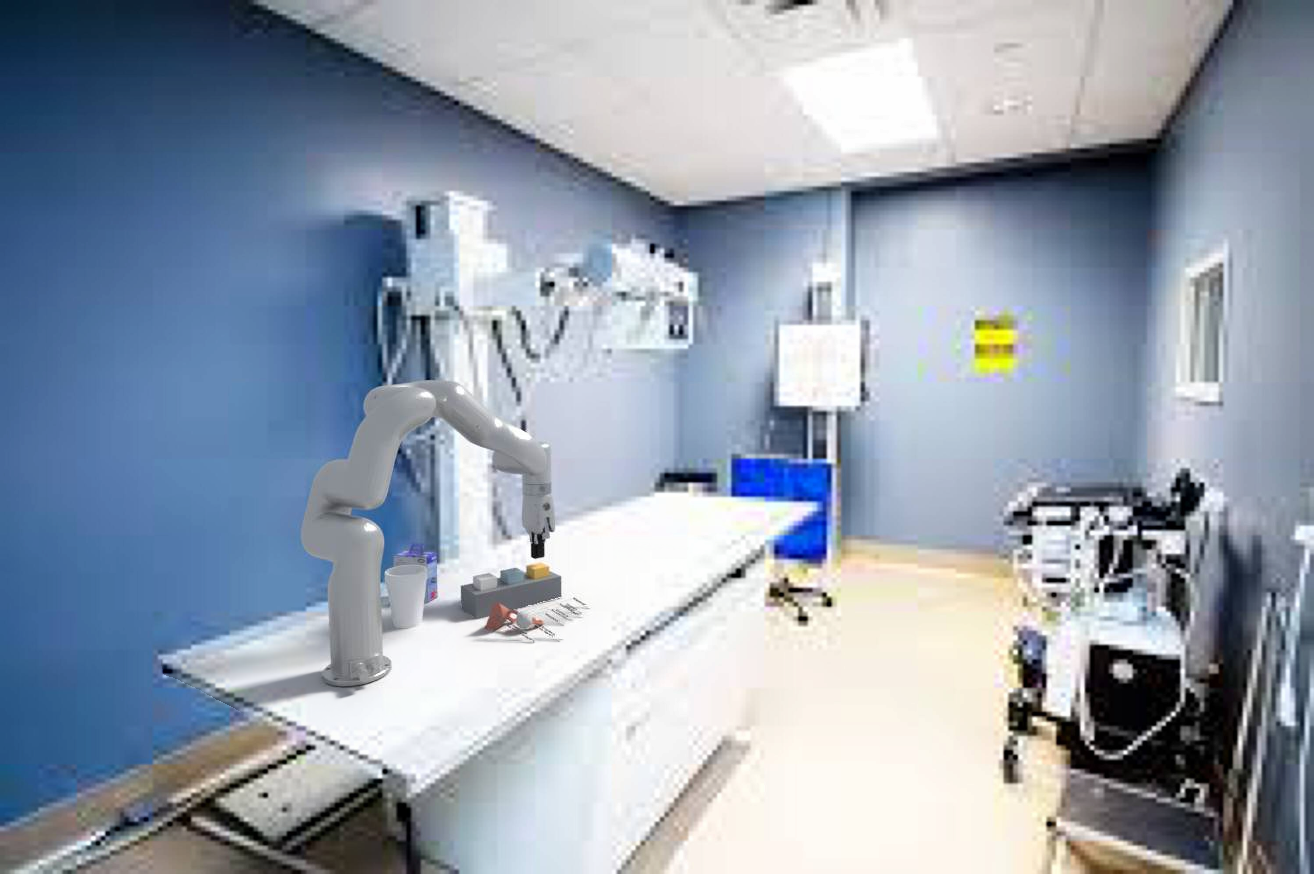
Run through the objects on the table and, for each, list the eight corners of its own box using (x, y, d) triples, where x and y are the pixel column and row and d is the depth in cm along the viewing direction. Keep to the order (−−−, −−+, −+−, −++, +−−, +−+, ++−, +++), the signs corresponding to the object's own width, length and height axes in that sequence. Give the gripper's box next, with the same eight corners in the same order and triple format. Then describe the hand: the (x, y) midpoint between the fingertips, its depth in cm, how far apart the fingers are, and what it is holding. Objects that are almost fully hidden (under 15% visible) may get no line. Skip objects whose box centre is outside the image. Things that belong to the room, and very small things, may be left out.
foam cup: (384, 632, 155) (382, 577, 154) (388, 618, 164) (386, 566, 163) (427, 628, 158) (426, 574, 157) (429, 614, 167) (428, 563, 165)
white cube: (497, 592, 170) (497, 577, 169) (480, 596, 167) (480, 580, 167) (489, 588, 173) (489, 572, 173) (473, 591, 170) (472, 576, 170)
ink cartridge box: (439, 596, 180) (437, 543, 179) (428, 603, 175) (426, 548, 173) (405, 593, 182) (403, 541, 181) (393, 600, 177) (391, 546, 175)
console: (561, 598, 179) (561, 576, 179) (476, 618, 164) (476, 595, 164) (544, 589, 186) (544, 568, 186) (461, 608, 171) (460, 585, 171)
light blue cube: (524, 586, 175) (523, 571, 174) (508, 590, 172) (508, 574, 171) (515, 582, 178) (515, 567, 178) (500, 585, 175) (500, 570, 175)
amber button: (549, 580, 179) (549, 566, 179) (534, 584, 177) (534, 569, 176) (540, 576, 183) (540, 562, 182) (526, 580, 180) (526, 565, 179)
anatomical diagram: (486, 605, 153) (541, 570, 176) (474, 637, 155) (530, 598, 179) (561, 651, 148) (608, 609, 171) (548, 684, 150) (596, 637, 173)
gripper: (564, 491, 174) (565, 561, 176) (535, 483, 185) (536, 549, 187) (538, 495, 169) (539, 566, 171) (510, 486, 180) (511, 553, 182)
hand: (537, 557), depth 179 cm, fingers closed
